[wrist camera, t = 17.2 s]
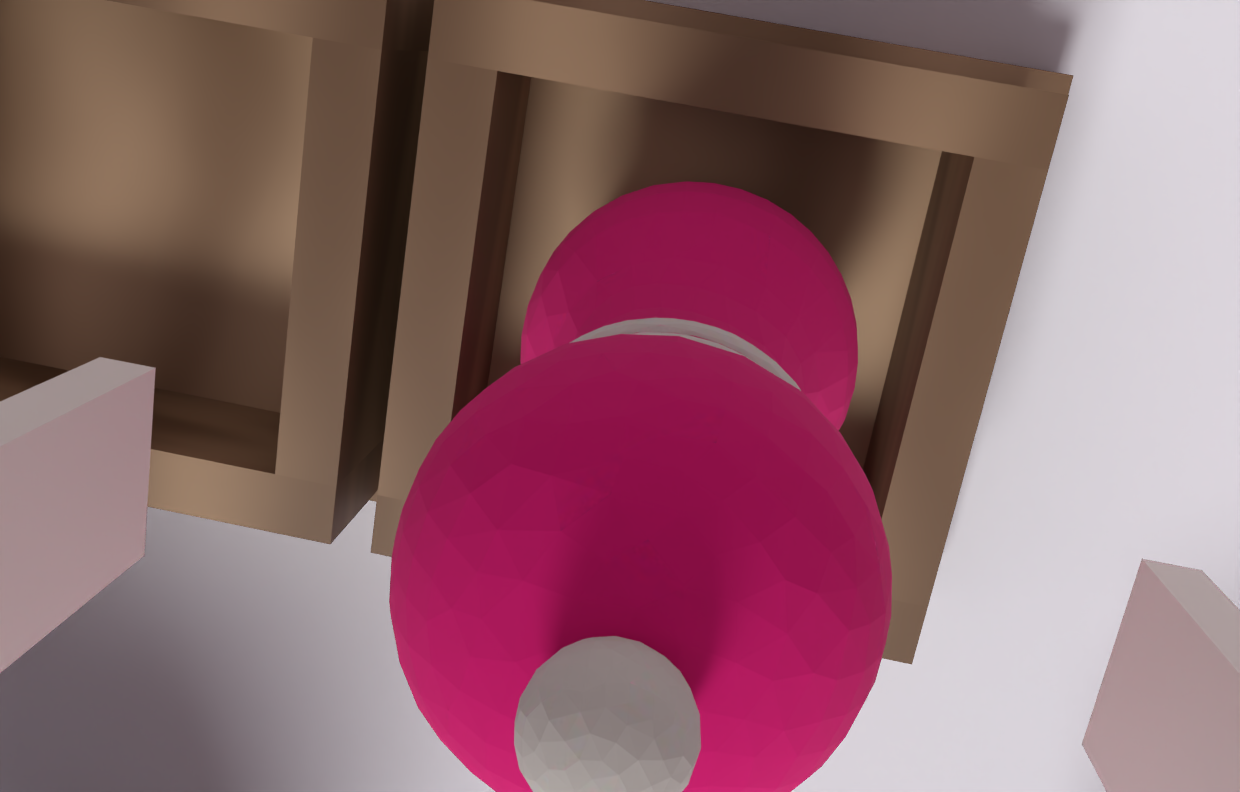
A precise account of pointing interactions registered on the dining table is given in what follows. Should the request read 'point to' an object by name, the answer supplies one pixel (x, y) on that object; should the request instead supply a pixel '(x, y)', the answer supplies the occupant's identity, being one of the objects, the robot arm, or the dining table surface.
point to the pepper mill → (653, 517)
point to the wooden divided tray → (478, 223)
